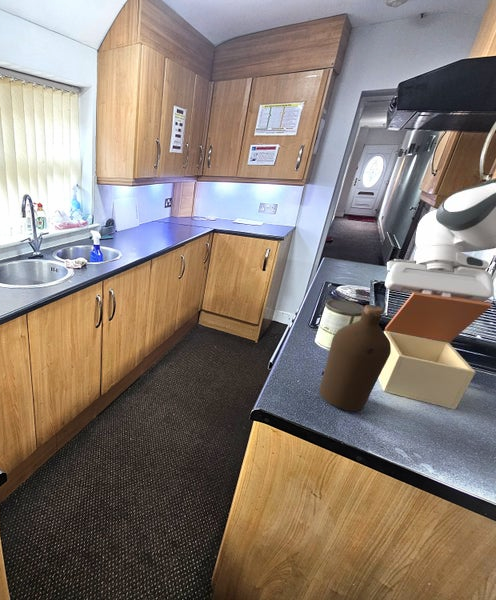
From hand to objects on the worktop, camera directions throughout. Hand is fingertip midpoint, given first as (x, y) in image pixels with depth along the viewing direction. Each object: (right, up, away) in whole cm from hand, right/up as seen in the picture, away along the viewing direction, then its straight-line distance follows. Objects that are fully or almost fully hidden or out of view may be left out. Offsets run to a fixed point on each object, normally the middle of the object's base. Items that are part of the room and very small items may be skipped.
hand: (434, 309), depth 84 cm
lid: (-1, -3, 0) cm, 3 cm away
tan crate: (-3, -20, +4) cm, 21 cm away
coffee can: (-10, -13, +23) cm, 28 cm away
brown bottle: (-26, -22, -2) cm, 34 cm away
